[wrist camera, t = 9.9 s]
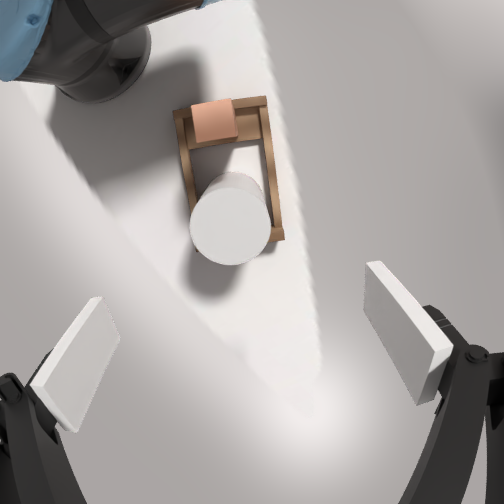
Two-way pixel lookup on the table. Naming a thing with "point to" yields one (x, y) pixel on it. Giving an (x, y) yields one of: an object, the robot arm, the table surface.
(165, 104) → the table surface
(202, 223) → the cup
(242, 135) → the sled
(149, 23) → the robot arm
